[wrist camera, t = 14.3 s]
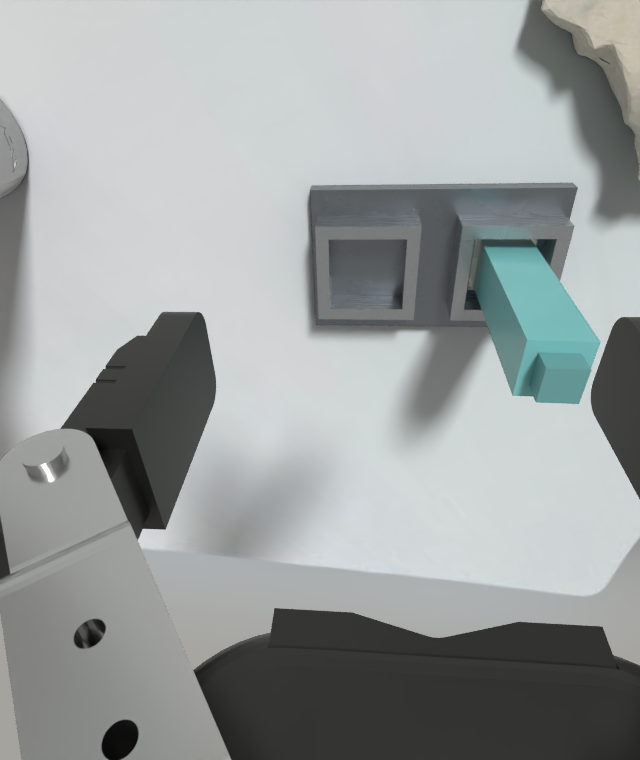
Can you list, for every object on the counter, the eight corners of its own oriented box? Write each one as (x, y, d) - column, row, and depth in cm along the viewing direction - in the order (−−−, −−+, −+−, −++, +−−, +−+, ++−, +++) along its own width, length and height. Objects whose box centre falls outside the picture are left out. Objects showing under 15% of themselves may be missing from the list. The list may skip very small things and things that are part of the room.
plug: (473, 286, 44) (518, 412, 30) (481, 240, 41) (534, 355, 28) (521, 287, 43) (589, 415, 30) (532, 241, 41) (611, 357, 28)
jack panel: (317, 318, 48) (313, 339, 45) (311, 185, 41) (307, 200, 38) (538, 320, 46) (549, 342, 43) (572, 182, 39) (589, 197, 36)
